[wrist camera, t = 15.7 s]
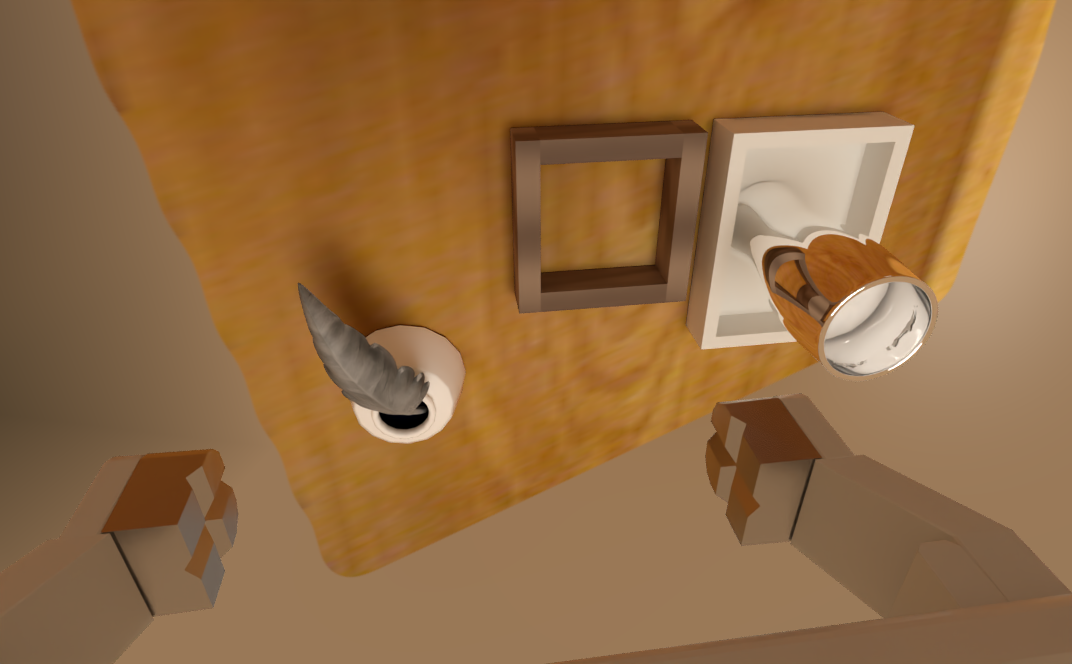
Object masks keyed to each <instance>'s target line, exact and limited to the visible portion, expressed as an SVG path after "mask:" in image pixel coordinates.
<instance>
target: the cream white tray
mask: <svg viewBox="0 0 1072 664" xmlns="http://www.w3.org/2000/svg"><path fill="white" fill-rule="evenodd" d="M914 126H915V125H913V124H910V123H908V122H906V121H903V120H901V119H899V118H897V117H894V116H892V115H890V114H887V113H885V112H862V113H840V114H817V115H794V116H771V117H749V118H726V119H714V120H713V128H712V135H711V142H710V150H709V157H708V165H707V172H706V179H705V187H704V194H703V201H702V209H701V216H700V224H699V231H698V238H697V246H696V253H695V261H694V268H693V275H692V283H691V290H690V298H689V305H688V312H687V320H686V326H687V328H688V329H689V331H690V332H691V334H692V336H693V337H694V339H695V340H696V342H697V344H698V345H699V347H700V348H701V349H712V348H724V347H736V346H748V345H759V344H771V343H783V342H795V341H796V340H795V339H794V337H793V336H792V335H791V334H790V333H789V332H788V331H787V330H786V328H785V327H784V326H783V325H782V323H781V322H780V321H779V319H778V318H777V317H776V315H775V313H774V312H773V310H772V308H771V307H770V305H769V303H768V301H767V299H766V297H765V295H764V293H763V291H762V289H761V287H760V285H759V283H758V280H757V278H756V276H755V274H754V273H753V271H752V270H751V268H750V267H749V266H748V265H746V264H745V263H743V262H741V261H739V260H738V259H736V258H734V257H733V256H732V255H731V254H730V249H731V243H732V237H733V231H734V224H735V218H736V212H737V206H738V200H739V194H740V192H741V191H742V190H744V189H745V188H747V187H749V186H751V185H754V184H756V183H760V182H765V181H775V182H780V183H783V184H785V185H787V186H789V187H791V188H792V189H793V190H794V191H795V192H796V193H797V194H798V196H799V197H800V198H801V200H802V201H803V203H804V204H805V206H806V207H807V208H808V209H809V210H810V211H812V212H813V213H815V214H817V215H820V216H822V217H825V218H827V219H830V220H833V221H835V222H838V223H840V224H843V225H845V226H848V227H850V228H852V229H854V230H856V231H858V232H860V233H862V234H864V235H866V236H868V237H869V238H871V239H872V240H874V241H875V242H877V243H878V244H880V240H881V237H882V234H883V230H884V227H885V223H886V220H887V217H888V213H889V210H890V207H891V203H892V200H893V197H894V193H895V190H896V186H897V183H898V180H899V176H900V173H901V170H902V166H903V163H904V159H905V156H906V153H907V149H908V146H909V143H910V139H911V136H912V133H913V129H914Z"/></svg>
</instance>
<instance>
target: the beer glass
mask: <svg viewBox="0 0 1072 664" xmlns="http://www.w3.org/2000/svg"><path fill="white" fill-rule="evenodd" d="M730 254H731V255H732V256H733V257H734V258H736V259H738V260H739V261H741V262H743V263H745V264H746V265H748V266H749V267H750V268H751V270H752V271H753V273H754V274H755V276H756V278H757V280H758V283H759V285H760V287H761V289H762V291H763V293H764V295H765V297H766V299H767V301H768V303H769V305H770V307H771V308H772V310H773V312H774V313H775V315H776V317H777V318H778V319H779V321H780V322H781V323H782V325H783V326H784V327H785V328H786V330H787V331H788V332H789V333H790V334H791V335H792V336H793V337H794V339H795V340H796V341H797V342H798V343H799V344H800V345H801V346H802V347H803V348H804V349H805V350H807V351H808V352H809V353H810V354H811V355H812V356H813V357H814V358H815V359H816V360H818V361H819V362H820V363H821V364H822V365H823V366H824V367H825V369H826V370H827V371H828V372H829V373H831V374H832V375H834V376H836V377H838V378H840V379H844V380H849V381H865V380H871V379H875V378H878V377H881V376H884V375H886V374H889V373H891V372H893V371H895V370H896V369H898V368H900V367H901V366H903V365H904V364H906V363H907V362H908V361H909V360H911V359H912V358H913V357H914V356H915V355H916V354H917V353H918V352H919V351H920V350H921V349H922V347H923V346H924V345H925V344H926V342H927V341H928V339H929V338H930V336H931V334H932V332H933V330H934V327H935V324H936V321H937V317H938V303H937V299H936V296H935V294H934V292H933V291H932V289H931V288H930V287H929V286H928V285H927V284H926V283H924V282H923V281H921V280H920V279H919V278H918V277H917V276H916V275H915V274H914V273H913V272H912V271H911V270H910V269H909V268H907V267H906V266H905V265H904V264H903V263H902V262H901V261H900V260H899V259H898V258H896V257H895V256H894V255H893V254H891V253H890V252H889V251H888V250H886V249H885V248H884V247H883V246H881V245H880V244H878V243H877V242H875V241H874V240H872V239H871V238H869V237H868V236H866V235H864V234H862V233H860V232H858V231H856V230H854V229H852V228H850V227H848V226H845V225H843V224H840V223H838V222H835V221H833V220H830V219H827V218H825V217H822V216H820V215H817V214H815V213H813V212H812V211H810V210H809V209H808V208H807V207H806V206H805V204H804V203H803V201H802V200H801V198H800V197H799V196H798V194H797V193H796V192H795V191H794V190H793V189H792V188H791V187H789V186H787V185H785V184H783V183H780V182H775V181H765V182H760V183H756V184H754V185H751V186H749V187H747V188H745V189H744V190H742V191H741V192H740V194H739V200H738V206H737V212H736V218H735V224H734V231H733V237H732V243H731V249H730Z"/></svg>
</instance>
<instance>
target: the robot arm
mask: <svg viewBox="0 0 1072 664" xmlns="http://www.w3.org/2000/svg"><path fill="white" fill-rule="evenodd" d="M711 422H712V424H713V426H714V428H715V430H716V431H717V432H716V433H715V434H714V435H713V436H712V437H711V438H710V439H709V440H708V441H707V448H706V455H705V458H706V468H707V473H708V477H709V480H710V484H711V486H712V488H713V490H714V492H715V494H716V495H717V496H718V497H720V498H721V499H723V500H725V501H726V502H728V505H727V510H726V516H727V519H728V520H729V523H730V525H731V527H732V528H733V530H734V533H735V534H736V536H737V538H738V540H739V542H740V544H741V546H744V545H756V544H767V543H778V542H789V541H791V543H790V544H791V545H793V546H794V547H795V548H796V549H798V550H799V551H800V552H801V553H803V554H804V555H805V556H806V557H808V558H809V559H810V560H811V561H813V562H814V563H815V564H816V565H818V566H819V567H820V568H821V569H823V570H824V571H825V572H826V573H828V574H829V575H830V576H832V577H833V578H834V579H835V580H836V581H838V582H839V583H840V584H841V585H843V586H844V587H845V588H847V589H848V590H849V591H850V592H852V593H853V594H854V595H855V596H857V597H858V598H859V599H860V600H862V601H863V602H864V603H865V604H867V605H868V606H869V607H871V608H872V609H873V610H874V611H875V612H877V613H878V614H879V615H880V616H882V617H883V619H876V620H869V621H861V622H854V623H846V624H839V625H831V626H824V627H816V628H809V629H801V630H795V631H786V632H779V633H772V634H764V635H756V636H749V637H742V638H735V639H727V640H719V641H712V642H705V643H697V644H689V645H682V646H674V647H668V648H660V649H652V650H645V651H638V652H630V653H622V654H616V655H608V656H601V657H593V658H586V659H578V660H570V661H564V662H555V663H548V664H1072V593H1071V591H1069V589H1068V588H1067V587H1066V586H1065V585H1064V584H1063V583H1062V582H1061V581H1060V580H1059V579H1058V578H1057V577H1056V576H1055V575H1054V574H1053V572H1052V571H1051V570H1050V569H1049V568H1048V567H1047V566H1046V565H1045V564H1044V563H1043V562H1042V561H1041V560H1040V559H1039V558H1038V557H1037V556H1036V555H1035V553H1033V551H1032V550H1031V549H1030V548H1029V547H1028V546H1027V545H1026V544H1025V543H1024V542H1023V541H1022V540H1021V539H1020V538H1019V537H1018V536H1017V534H1016V533H1015V532H1014V531H1013V530H1011V529H1009V528H1007V527H1005V526H1003V525H1001V524H999V523H997V522H995V521H993V520H991V519H989V518H987V517H986V516H984V515H982V514H980V513H977V512H976V511H974V510H972V509H970V508H968V507H966V506H964V505H962V504H960V503H958V502H956V501H954V500H952V499H950V498H948V497H946V496H944V495H942V494H940V493H938V492H936V491H934V490H932V489H930V488H928V487H926V486H924V485H922V484H920V483H918V482H916V481H914V480H912V479H910V478H908V477H906V476H904V475H902V474H901V473H898V472H897V471H894V470H893V469H890V468H889V467H887V466H885V465H883V464H881V463H879V462H877V461H875V460H873V459H871V458H869V457H867V456H865V455H856V456H855V455H854V454H853V452H852V451H851V450H850V449H849V447H848V446H847V445H846V444H845V443H844V441H843V440H842V439H841V437H840V436H839V435H838V434H837V432H836V431H835V430H834V429H833V427H832V426H831V425H830V424H829V422H828V421H827V420H826V419H825V417H824V416H823V415H822V414H821V412H820V411H819V410H818V409H817V407H816V406H815V405H814V404H813V402H812V401H811V400H810V399H809V397H808V396H806V395H804V394H802V393H799V394H791V395H781V396H774V397H769V398H759V399H749V400H738V401H728V402H718V403H717V404H716V405H715V407H714V409H713V413H712V418H711ZM224 469H225V466H224V464H223V461H222V458H221V456H220V453H219V452H218V451H216V450H214V449H206V450H192V451H178V452H165V453H149V454H146V455H129V456H115V457H112V458H110V459H109V460H107V461H106V462H105V463H104V464H103V466H102V467H101V469H100V470H99V472H98V474H97V475H96V477H95V479H94V480H93V482H92V484H91V485H90V487H89V489H88V490H87V492H86V494H85V495H84V497H83V499H82V500H81V502H80V504H79V506H78V507H77V509H76V510H75V512H74V514H73V516H72V517H71V519H70V520H69V522H68V524H67V525H66V527H65V529H64V530H63V532H62V534H61V536H60V537H59V539H50V540H47V541H45V542H44V543H42V544H41V545H39V546H38V547H37V548H35V549H34V550H33V551H31V552H30V553H28V554H27V555H25V556H24V557H22V558H21V559H19V560H18V561H17V562H15V563H14V564H12V565H11V566H9V567H8V568H7V569H5V570H4V571H2V572H1V573H0V664H113V663H115V661H116V660H117V659H118V658H119V657H120V656H121V655H122V654H123V653H124V652H125V651H126V649H127V648H128V647H129V646H130V645H131V644H132V643H133V642H134V641H135V640H136V639H137V638H138V636H139V635H140V634H141V633H142V632H143V631H144V630H145V629H146V628H147V627H148V626H149V625H150V623H151V622H152V621H153V620H154V619H153V617H155V616H162V615H169V614H176V613H182V612H190V611H196V610H203V609H210V608H213V607H214V604H215V601H216V598H217V594H218V591H219V588H220V585H221V582H222V579H223V576H224V572H225V570H224V567H223V564H222V562H221V559H220V558H221V557H222V556H223V555H224V554H225V553H226V552H228V551H229V550H230V549H231V548H232V547H233V543H234V539H235V536H236V533H237V522H238V521H237V520H238V509H237V502H236V498H235V495H234V492H233V489H232V488H231V487H230V486H228V485H227V484H225V483H224V482H223V481H221V478H222V475H223V472H224Z"/></svg>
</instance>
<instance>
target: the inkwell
mask: <svg viewBox="0 0 1072 664" xmlns="http://www.w3.org/2000/svg"><path fill="white" fill-rule="evenodd" d="M298 290H299V295H300V300H301V304H302V308H303V311H304V315H305V318H306V321H307V324H308V328H309V330H310V333H311V335H312V336H313V343H314V346H315V349H316V351H317V353H318V355H319V357H320V359H321V360H322V362H323V363H324V364H323V365H324V368H325V370H326V372H327V374H328V375H329V377H330V378H331V379H332V381H333V382H334V383H335V384H336V385H337V386H338V387H340V388H341V389H342V394H343V395H344V396H345V397H346V398H348V399H349V400H350V402H351V404H352V407H353V410H354V413H355V415H356V417H357V419H358V422H359V424H360V425H361V426H362V427H363V428H364V429H366V430H367V431H368V432H369V433H370V434H371V435H372V436H375V437H377V438H380V439H382V440H385V441H387V442H391V443H413V442H418V441H422V440H426V439H428V438H430V437H432V436H433V435H435V434H436V433H438V432H440V431H441V430H442V429H443V428H444V427H445V425H446V424H447V423H448V421H449V420H450V419H451V417H452V415H453V413H454V411H455V409H456V406H457V403H458V401H459V398H460V396H461V393H462V390H463V384H464V378H465V373H466V371H465V368H464V365H463V361H462V358H461V354H460V353H459V352H458V350H457V349H456V348H455V347H454V346H453V345H452V344H451V343H450V342H449V341H448V340H447V339H446V338H445V337H443V336H441V335H439V334H437V333H435V332H433V331H431V330H428V329H426V328H424V327H414V326H404V325H398V326H394V327H390V328H385V329H381V330H376V331H374V332H373V333H372V334H370V335H369V336H367V337H365V336H364V335H363V334H361V333H360V332H358V331H357V330H355V329H354V328H352V327H351V326H349V325H346V324H344V323H343V322H342V321H341V319H340V318H339V317H338V316H337V315H336V314H334V313H333V312H332V311H331V310H329V309H328V308H327V307H326V306H325V305H324V304H323V303H322V302H321V301H320V300H319V299H318V298H316V297H315V296H314V295H313V294H312V293H311V292H310V291H309V290H308V289H307V288H306V287H304V286H303V285H302V284H300V283H298Z"/></svg>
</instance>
